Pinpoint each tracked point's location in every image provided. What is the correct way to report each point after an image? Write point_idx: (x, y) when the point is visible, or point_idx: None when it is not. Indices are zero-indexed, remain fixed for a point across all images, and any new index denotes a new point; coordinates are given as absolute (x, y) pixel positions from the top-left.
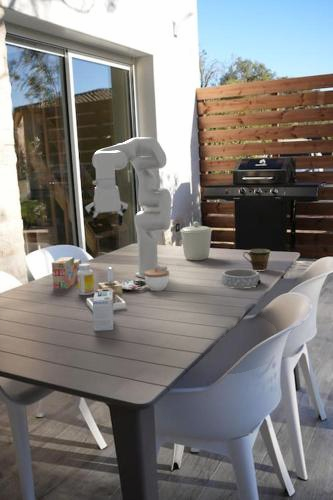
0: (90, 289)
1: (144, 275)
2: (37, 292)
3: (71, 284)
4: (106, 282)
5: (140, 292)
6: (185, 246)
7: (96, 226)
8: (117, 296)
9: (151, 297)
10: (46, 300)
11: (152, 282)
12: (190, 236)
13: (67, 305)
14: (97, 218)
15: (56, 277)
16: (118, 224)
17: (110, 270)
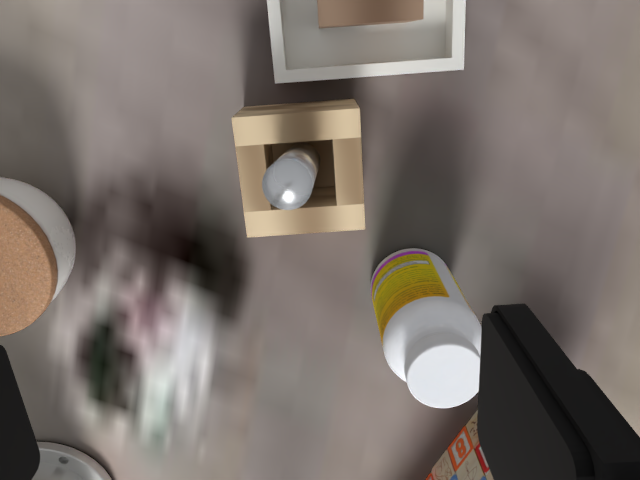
0: (398, 261)
1: (72, 461)
2: (626, 388)
3: (447, 452)
4: (314, 225)
5: (128, 196)
6: None
7: (527, 307)
8: (279, 36)
9: (77, 67)
10: (627, 234)
11: (30, 192)
12: None
13: (555, 93)
14: (574, 442)
15: None
16: (26, 428)
17: (294, 160)
